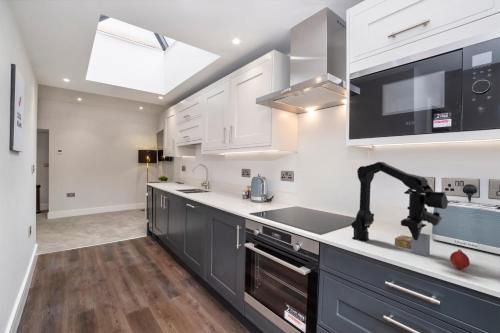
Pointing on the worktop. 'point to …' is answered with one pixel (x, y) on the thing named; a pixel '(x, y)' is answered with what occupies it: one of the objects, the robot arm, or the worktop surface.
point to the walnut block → (403, 241)
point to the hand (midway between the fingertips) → (416, 240)
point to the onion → (459, 260)
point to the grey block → (421, 245)
